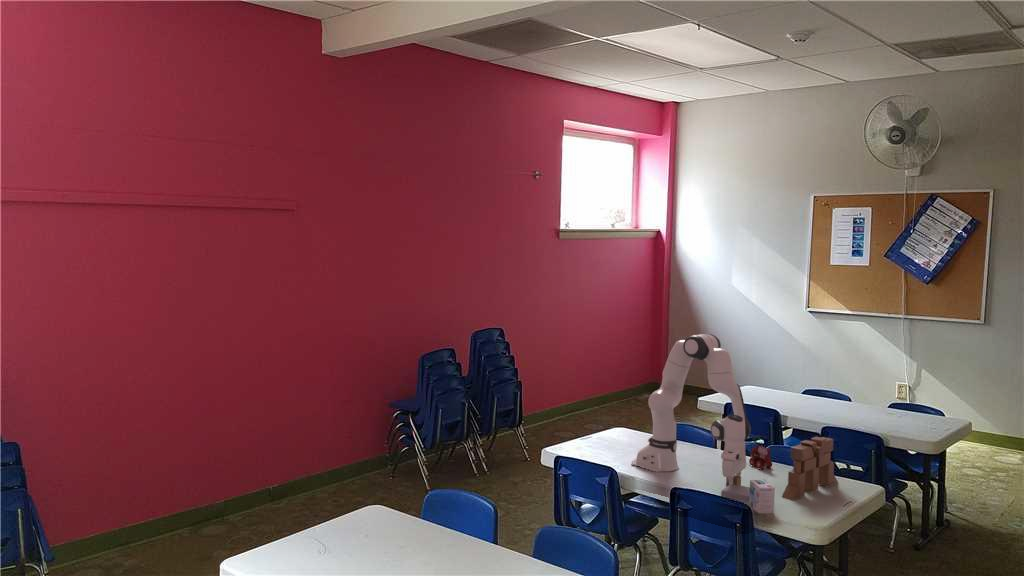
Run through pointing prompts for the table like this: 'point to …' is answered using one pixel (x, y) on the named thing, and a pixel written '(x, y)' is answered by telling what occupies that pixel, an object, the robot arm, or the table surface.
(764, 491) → the light bulb box
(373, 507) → the table surface
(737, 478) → the walnut cube
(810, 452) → the wooden robot
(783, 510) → the table surface
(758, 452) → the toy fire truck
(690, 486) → the table surface
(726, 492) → the stand
